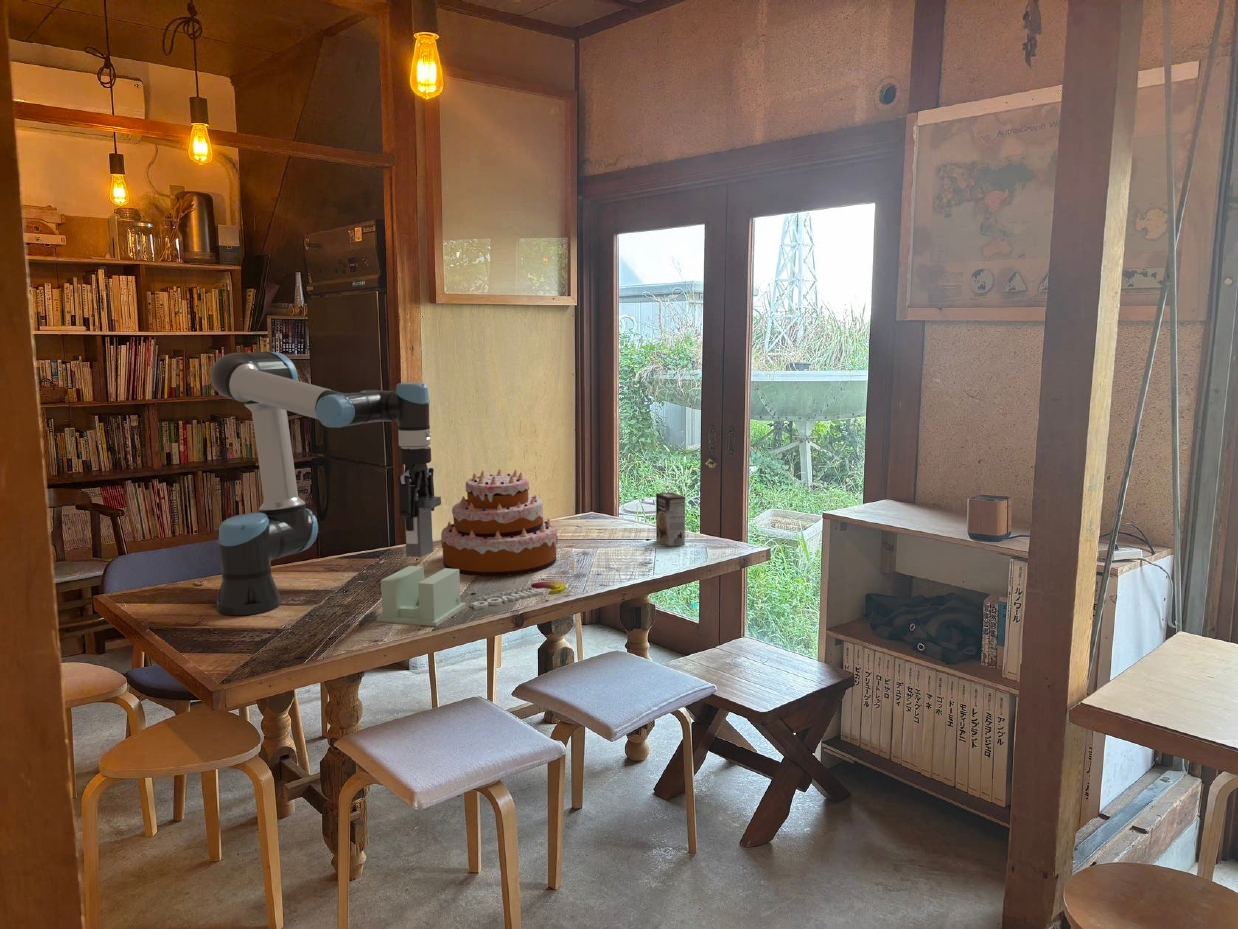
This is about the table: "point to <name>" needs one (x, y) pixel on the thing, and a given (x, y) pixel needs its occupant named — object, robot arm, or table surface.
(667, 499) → the instant coffee box
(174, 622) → the table surface
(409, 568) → the green slotted holder
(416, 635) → the table surface
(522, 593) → the logo
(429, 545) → the stepped grey block
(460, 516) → the cake
